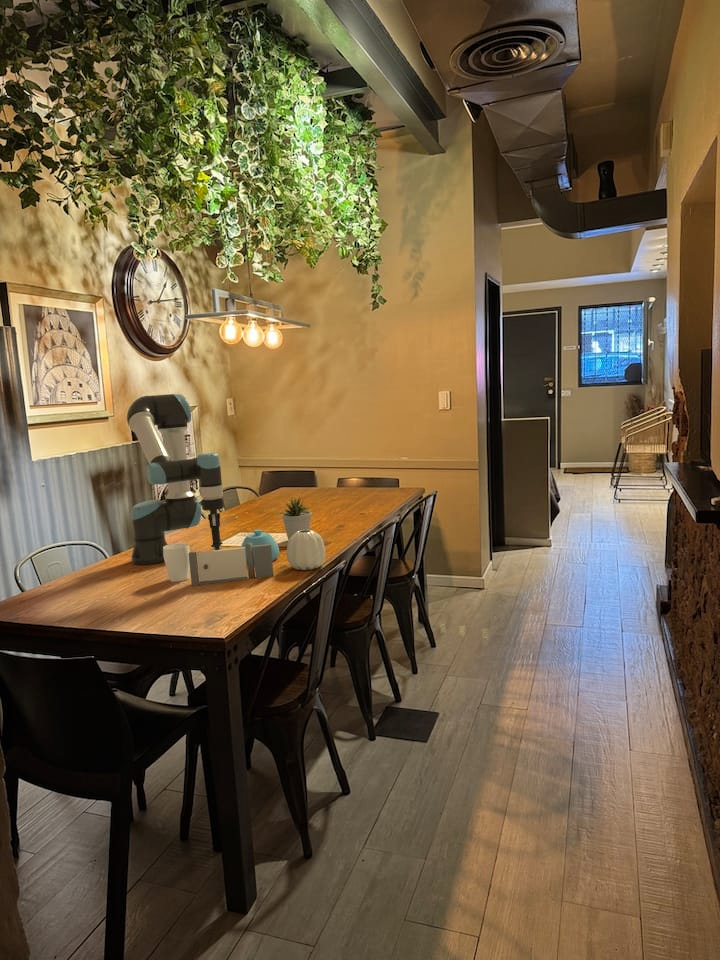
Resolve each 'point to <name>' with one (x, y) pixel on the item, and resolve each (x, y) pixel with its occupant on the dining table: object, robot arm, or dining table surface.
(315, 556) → the vase
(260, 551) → the grey u-shaped bar
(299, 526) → the potted plant
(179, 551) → the cup
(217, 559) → the curved cream plank
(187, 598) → the dining table surface
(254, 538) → the sugar bowl
